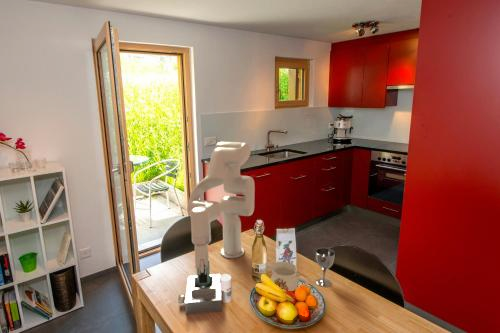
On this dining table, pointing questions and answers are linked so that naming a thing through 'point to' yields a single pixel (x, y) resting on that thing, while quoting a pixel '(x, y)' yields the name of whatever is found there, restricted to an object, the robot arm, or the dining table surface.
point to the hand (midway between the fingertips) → (203, 277)
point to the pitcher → (285, 275)
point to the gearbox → (202, 296)
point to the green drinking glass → (207, 276)
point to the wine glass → (324, 264)
